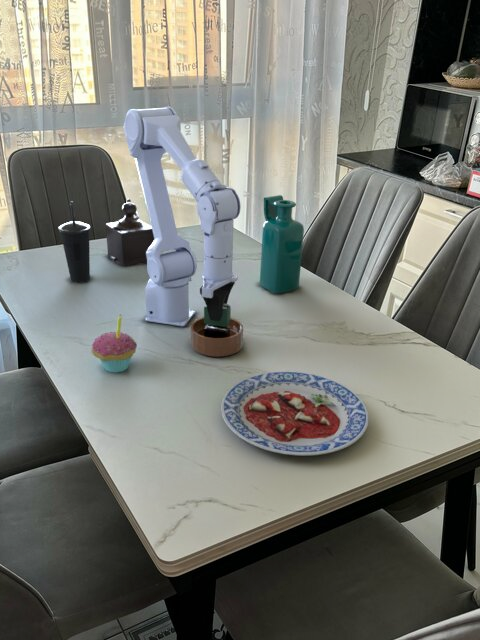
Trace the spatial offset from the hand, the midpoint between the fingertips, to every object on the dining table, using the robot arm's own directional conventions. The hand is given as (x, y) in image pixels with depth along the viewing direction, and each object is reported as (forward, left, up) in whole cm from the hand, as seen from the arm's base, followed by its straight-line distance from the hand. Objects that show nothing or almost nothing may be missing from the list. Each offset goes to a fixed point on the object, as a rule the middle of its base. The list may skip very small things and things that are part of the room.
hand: (217, 316), depth 125 cm
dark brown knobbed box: (-37, +41, -7) cm, 55 cm away
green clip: (0, 0, -1) cm, 1 cm away
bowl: (0, 0, -7) cm, 7 cm away
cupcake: (-17, -15, -7) cm, 23 cm away
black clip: (0, 0, -6) cm, 6 cm away
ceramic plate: (+21, -22, -7) cm, 31 cm away
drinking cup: (-45, +24, -7) cm, 51 cm away
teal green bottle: (+5, +37, -7) cm, 38 cm away
